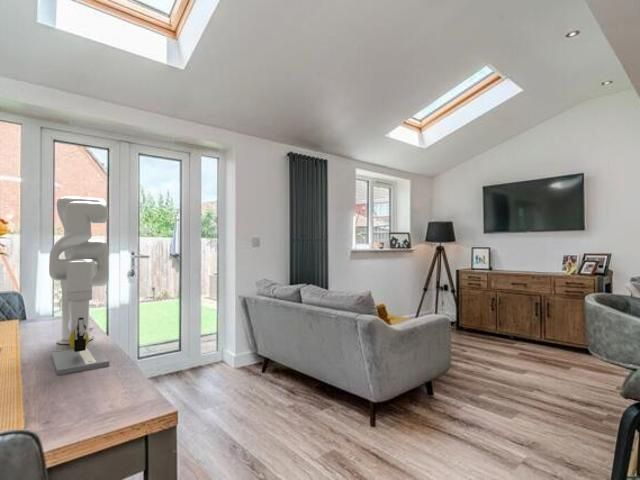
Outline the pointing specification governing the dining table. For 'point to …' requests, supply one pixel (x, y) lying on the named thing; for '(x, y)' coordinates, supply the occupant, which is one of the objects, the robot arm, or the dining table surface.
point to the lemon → (72, 338)
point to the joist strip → (87, 357)
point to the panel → (77, 360)
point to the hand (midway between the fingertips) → (78, 348)
